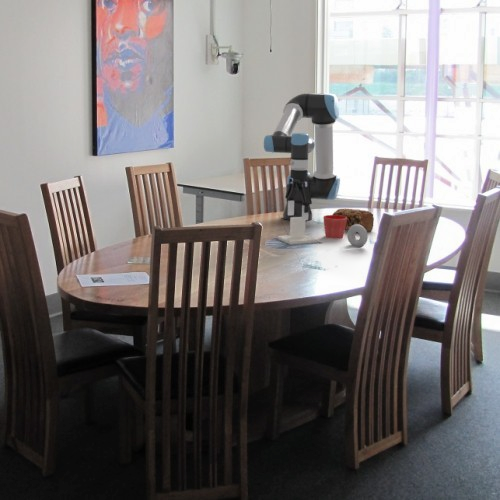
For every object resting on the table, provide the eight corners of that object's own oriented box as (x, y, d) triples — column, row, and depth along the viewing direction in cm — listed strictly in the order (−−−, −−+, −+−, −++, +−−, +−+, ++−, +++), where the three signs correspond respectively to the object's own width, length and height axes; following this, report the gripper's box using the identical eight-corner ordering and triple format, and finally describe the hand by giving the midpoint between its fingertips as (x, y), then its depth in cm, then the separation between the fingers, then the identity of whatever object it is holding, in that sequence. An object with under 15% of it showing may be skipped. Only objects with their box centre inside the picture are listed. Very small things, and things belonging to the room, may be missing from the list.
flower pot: (346, 235, 371) (346, 215, 369) (346, 240, 361) (347, 219, 358) (322, 235, 372) (323, 214, 370) (322, 239, 362) (323, 218, 359)
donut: (345, 246, 349) (345, 223, 347) (349, 244, 352) (350, 222, 350) (364, 249, 343) (365, 226, 341) (368, 248, 345) (369, 225, 343)
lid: (277, 238, 360) (278, 216, 357) (303, 236, 365) (304, 214, 363) (290, 244, 348) (291, 221, 346) (317, 242, 353) (318, 219, 351)
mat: (272, 239, 361) (272, 237, 361) (303, 236, 368) (303, 235, 368) (290, 247, 345) (290, 245, 345) (323, 244, 352) (323, 243, 352)
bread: (373, 231, 383) (374, 210, 381) (358, 234, 377) (358, 212, 375) (346, 225, 397) (346, 205, 395) (330, 227, 391) (331, 207, 389)
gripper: (278, 166, 359) (277, 213, 364) (305, 172, 337) (303, 222, 341) (293, 166, 362) (292, 212, 367) (320, 171, 340) (319, 221, 344)
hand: (297, 217), depth 354 cm, fingers open, 13 cm apart
